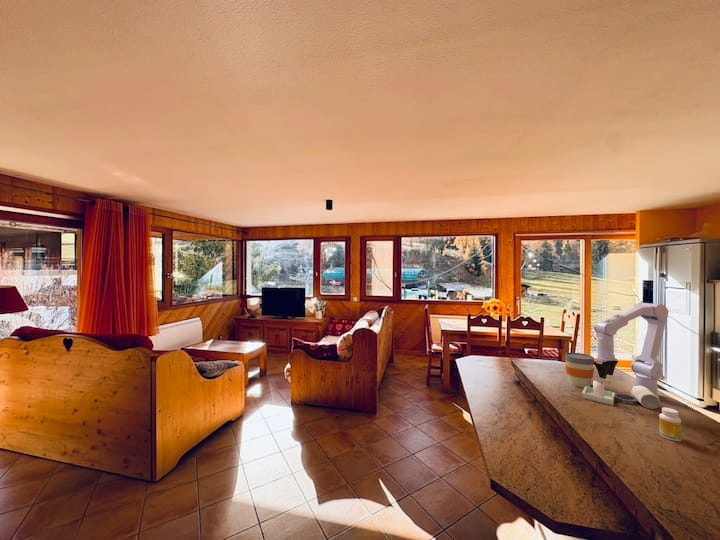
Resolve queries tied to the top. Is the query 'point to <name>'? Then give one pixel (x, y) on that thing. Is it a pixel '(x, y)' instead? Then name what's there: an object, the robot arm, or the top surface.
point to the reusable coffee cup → (579, 369)
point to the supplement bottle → (670, 424)
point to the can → (645, 397)
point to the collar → (631, 400)
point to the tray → (607, 398)
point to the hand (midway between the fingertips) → (606, 376)
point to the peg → (598, 388)
